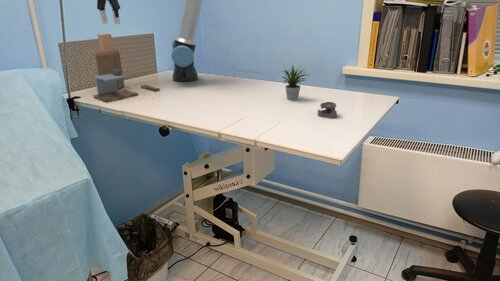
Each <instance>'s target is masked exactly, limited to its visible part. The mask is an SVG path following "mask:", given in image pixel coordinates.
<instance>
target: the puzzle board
mask: <svg viewBox="0 0 500 281" xmlns="http://www.w3.org/2000/svg"><path fill="white" fill-rule="evenodd" d="M140 88H141V89H145V90H148V91H151V92H153V93H154V92H155V93H156V92H160V91H161V89H160V88H159V87H157V86H152V85H148V84H141V85H140ZM138 96H139V93H138V92H135V91H133V90H128V89H126V88H121V89H119V90H118V91H115V92H111V93H106V94H101V95H98V93H97V94H94V95H93V98H94V99H97V100H99V101H102V102H105V103H111V102H114V101H120V100H124V99H128V98H129V99H130V98H132V97H133V98H134V97H138Z"/></svg>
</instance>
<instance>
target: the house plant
mask: <svg viewBox="0 0 500 281" xmlns="http://www.w3.org/2000/svg"><path fill="white" fill-rule="evenodd" d="M300 68H301V66H299V67H298V68H297V69H296V70H295V67H294V65H293V64H292V65H291V71H290V70H288V69H287V68H284V70H281V71H282V72H283V74H284V76H281V78H282V79H284V80H283V84H286V83H287V84H286V85H285V93H286V94H285V95H286V99H287V100H288V101H298V100H299V96H300V91H301V85H299V84H301V82H303V81H306V82H307V78H305V77H304V76H309V75H310V74H306V73H307V71H305V69H306V68H302V69H301V70H300V71H299V69H300ZM303 70H304V71H303ZM304 73H305V74H304ZM285 76H286V77H285ZM303 77H304V78H303Z"/></svg>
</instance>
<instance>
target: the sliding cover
mask: <svg viewBox="0 0 500 281" xmlns="http://www.w3.org/2000/svg"><path fill="white" fill-rule="evenodd" d="M94 78H95V79H94V80H95V85H96V90H97V94H98V95H101V94H106V93H111V92H115V91H118V90H117V84H116V80H117V79H122V78H123V79H126V76H125V75H123V76H122V75H121V73H120V71H119V70H115V69H113V70H112V74H106V75H100V76H99V75H96V76H94Z"/></svg>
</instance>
